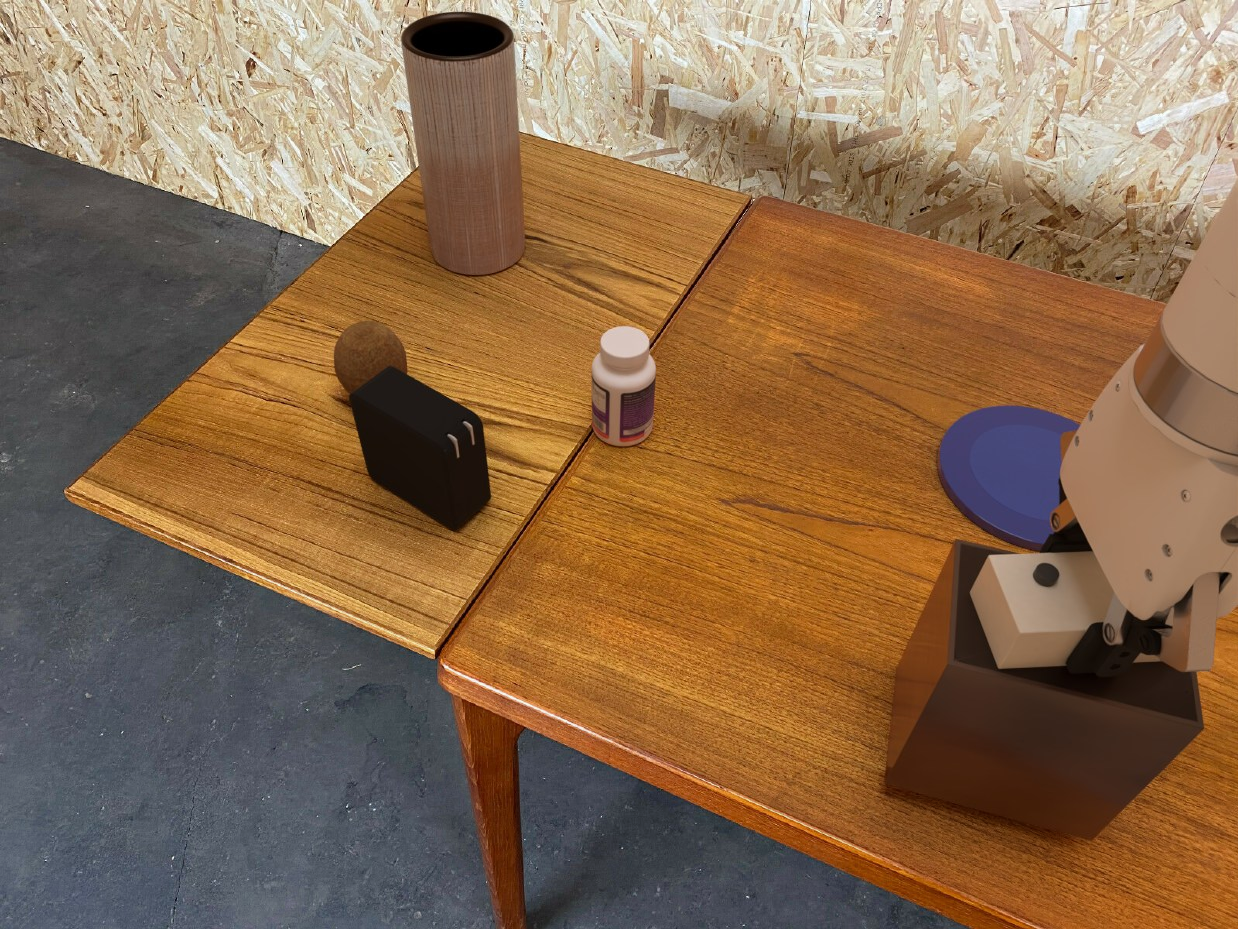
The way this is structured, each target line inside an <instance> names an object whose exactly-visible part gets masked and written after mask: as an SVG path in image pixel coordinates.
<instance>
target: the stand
mask: <svg viewBox="0 0 1238 929" xmlns="http://www.w3.org/2000/svg"><path fill="white" fill-rule="evenodd" d="M1004 554H1022V553H1020V552H1016V551H1011V550H1009V549H1008V550H1007V549H1004V548H1003V549H1002V548H998V547H994V546H991V545H985V544H981V543H976V542H972V541H968V540H963V539H959V538H955V539H954V542H953V544H952V546H951V547H950V550H949V552H948V554H947V557H946V558H945V561H944V563H943V566H942V568H941V569H940V572H939V575H938V576H937V578H936V581H935V582H934V585H933V587H932V590H931V592H930V593H929V596H928V598H927V601H926V602H925V605H924V607H923V609H922V612H921V614H920V615H919V618H918V620H917V622H916V624H915V627H914V629H913V631H912V633H911V635H910V638H909V640H908V642H907V644H906V646H905V648H904V651H903V654H902V655H901V658H900V659H899V662H898V664H897V666H896V669H895V677H894V679H895V680H894V687H893V696H892V707H891V715H890V726H889V733H888V734H889V735H888V744H887V752H886V753H887V754H886V763H885V772H884V781H883V783H884V785H888V786H892V787H894V788H899V789H903V790H906V791H909V792H912V793H918V794H921V795H924V796H928V797H931V798H935V799H938V800H942V801H945V802H949V803H953V804H956V805H960V806H964V807H967V808H971V809H975V810H978V811H981V812H985V813H988V814H993V815H995V816H1000V817H1004V818H1007V819H1010V820H1014V821H1018V822H1022V823H1025V824H1029V825H1032V826H1035V827H1039V828H1043V829H1047V830H1050V831H1054V832H1057V833H1061V834H1065V835H1068V836H1072V837H1076V838H1078V839H1082V840H1086V841H1091V842H1092V841H1094V840H1095V838H1097V837H1098V835H1100V834H1101V833H1102V831H1103V830H1104V829H1105V828H1106V827H1108V826H1109V824H1110V823H1111V822H1112V821H1114V820H1115V818H1117V817H1118V816H1119V815H1120V814H1121V813H1122V812H1123V811H1124V809H1126V808H1127V806H1129V804H1131V803H1132V802H1133V801H1134V799H1135V798H1137V797H1138V796H1139V795H1140V794H1141V792H1142V791H1144V790H1145V789H1146V788H1147V787H1148V786H1149V785H1150V784H1151V783H1152V782H1153V781H1154V780H1155V779H1156V778H1157V777H1158V776H1159V775H1160V774H1161V773H1162V772H1163V771H1164V770H1165V769H1166V768H1167V767H1168V766H1169V765H1170V764H1171V763H1172V762H1173V761H1174V760H1175V759H1176V758H1177V757H1178V756H1179V755H1180V754H1181V753H1182V752H1183V751H1184V750H1185V749H1186V748H1187V747H1189V745H1190V744H1191V743H1192V742H1193V741H1194V740H1195V739H1196V738H1197V737H1198V736H1199V735H1200V734H1201V733H1202V732H1203V731H1204V730H1205V723H1204V716H1203V710H1202V702H1201V694H1200V687H1199V678H1198V673H1197V672H1198V671H1195V672H1180V671H1178V670H1177V669H1175V668H1173V667H1171V666H1169V665H1168V664H1166V663H1164V662H1162V661H1156V662H1135V663H1132V664H1131V666H1130V667H1129V668H1128V669H1127V670H1126V671H1125V672H1124V673H1122V674H1120V675H1117V676H1112V677H1099V676H1097V675H1096V673H1082V674H1071V673H1069V671H1068V668H1067V666H1049V667H1028V668H1006V669H999V668H998V667H997V664H996V661H995V659H994V656H993V653H992V651H991V648H990V645H989V643H988V640H987V637H986V635H985V632H984V630H983V627H982V624H981V622H980V619H979V616H978V614H977V611H976V608H975V606H974V603H973V601H972V598H971V595H970V591H971V589H972V587H973V585H974V583H975V581H976V579H977V577H978V575H979V573H980V571H981V569H982V567H983V565H984V563H985V561H986V559H987V557H988V556H989V555H1004Z"/></svg>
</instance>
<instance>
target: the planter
mask: <svg viewBox="0 0 1238 929" xmlns="http://www.w3.org/2000/svg"><path fill="white" fill-rule="evenodd" d="M514 34H515V33H514V32H513V29H512V28H511V27H510V26H509V25H508V24H507V23H506V22H505V21H503V20H501V19H500V18H498V17H496V16H493V15H490V14H486V13H481V12H475V11H446V12H439V13H435V14H434V13H433V14H431V15H427V16H423V17H421V18H419V19H417V20H415V21H413V22H411V23H410V24H408V25H407V27H405V28H404V30H403V31H402V33H401V36H400V44H401V45H400V46H401V52H402V60H403V66H404V73H405V80H406V87H407V94H408V102H409V108H410V115H411V121H412V129H413V135H414V143H415V149H416V150H415V151H416V155H417V156H416V157H417V163H418V170H419V179H420V186H421V191H422V199H423V206H424V213H425V220H426V227H427V233H428V241H429V245H430V251H431V254H432V257H433V259H434V261H436V263H437V264H439V265H440V266H441V267H442V268H444V269H446V270H448V271H451V272H454V273H457V274H462V275H468V276H484V275H490V274H494V273H498V272H501V271H503V270H505V269H508V268H510V267H512V266H513V265H514V264H516V263H517V262H518V261H519V260H520V259H521V258H522V256H523V254H524V253H525V249H526V228H525V210H524V208H525V207H524V192H523V174H522V159H521V158H522V157H521V155H522V154H521V140H520V139H521V136H520V120H519V118H520V117H519V104H518V85H517V67H516V66H517V65H516V51H515V50H516V47H515V35H514Z"/></svg>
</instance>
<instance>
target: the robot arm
mask: <svg viewBox="0 0 1238 929" xmlns="http://www.w3.org/2000/svg"><path fill="white" fill-rule="evenodd" d="M1207 230H1208V231H1207V232H1206V234H1205V236H1204V237H1203V239H1202V241H1201V242H1200V245H1199V246H1198V248H1197V250H1196V252H1195V253H1194V255H1193V257H1192V259H1191V261H1190V262H1189V264H1188V266H1187V268H1186V270H1185V271H1184V273H1183V275H1182V277H1181V279H1180V280H1179V282H1178V284H1177V286H1176V288H1175V290H1173V293H1172V295H1171V296H1170V297H1169V298H1170V299H1169V300H1168V302H1167V304H1166V306H1165V307H1164V309H1163V310H1162V313H1161V314H1160V316H1159V317H1158V320H1157V321H1156V322H1155V325H1154V326H1153V328H1152V331H1151V332H1150V334H1149V336H1148V337H1147V339H1146V341H1145V343H1143V344H1141V345H1140V346H1139V347H1138V348H1136V350H1135V351H1134V352H1133V353H1132V354H1131V355H1130V356H1129V357H1128V358H1127V360H1125V362H1124V363H1123V364H1122V366H1121V367H1119V369H1117V371H1116V372H1115V374H1113V376H1112V378H1110V380H1109V382H1108V383H1107V384H1106V386H1105V387H1104V388H1103V389H1102V391H1101V392H1100V394H1099V395H1098V397H1097V398H1096V399H1095V401H1094V402H1093V404H1092V406H1091V407H1090V409H1088V410H1089V411H1088V412H1087V414H1086V415H1085V417H1084V418H1083V420H1082V422H1081V423H1080V427H1079V428H1078V430H1075V431H1069V432H1064V433H1063V434H1062V435H1061V439H1060V446H1061V461H1062V465H1061V468H1060V478H1059V480H1058V484H1059V506H1058V507H1057V508H1056V509H1054V510H1053V511H1052V513H1051V515H1050V526H1051V528H1052V530H1053V531H1054V533H1053V534H1049V536H1048V538H1047V540H1046V541H1045V543H1044V545H1043V547H1042V548H1041V550H1040V551H1038V553H1062V552H1088V551H1093V552H1094V554H1095V556H1096V558H1097V560H1098V562H1099V564H1100V566H1101V568H1102V570H1103V572H1104V573H1105V575H1106V577H1107V579H1108V581H1109V583H1110V585H1111V587H1112V589H1113V590H1114V595H1113V597H1112V600H1111V603H1110V606H1109V609H1108V612H1107V615H1106V618H1105V621H1104V622H1096V623H1093V624H1091V625H1090V626H1089V628H1088V629H1087V632H1086V633H1085V634H1084V636H1083V637H1082V639H1081V640H1080V642H1079V643H1078V644H1077V646H1076V647H1075V649H1074V650H1073V652H1072V653H1071V654H1070V656H1069V657H1068V659H1067V661H1066V663H1065V664H1066V666H1067V668H1068V671H1069V673H1071V674H1082V673H1096V675H1097V676H1099V677H1112V676H1117V675H1120V674H1122V673H1124V672H1125V671H1126V670H1127V669H1128V668H1129V667H1130V666H1131V664H1132V663H1133V662H1134V661H1135V659H1136V658H1137V657H1138V656H1139V654H1140V653H1142V654H1145V655H1155V656H1157V657H1158V658H1160V660H1161V661H1162V662H1164V663H1166V664H1168V665H1169V666H1171V667H1173V668H1175V669H1177V670H1178V671H1180V672H1195V671H1196V672H1209V671H1211V670H1212V669H1213V667H1214V661H1215V649H1216V648H1215V647H1216V635H1217V634H1216V633H1217V622H1218V621H1217V620H1218V618H1225V617H1227V616H1228V615H1230V614H1231V613H1232V612H1233V611H1234V610H1235V609H1236V608H1237V607H1238V177H1237V178H1236V180H1235V182H1234V183H1233V186H1232V187H1231V189H1230V191H1229V193H1228V194H1227V197H1226V198H1225V200H1224V201H1223V203H1222V205H1221V207H1220V209H1219V210H1218V212H1217V214H1216V216H1215V218H1214V220H1213V222H1212V223H1211V225H1210V227H1209V228H1208V229H1207ZM1134 616H1136V617H1134Z"/></svg>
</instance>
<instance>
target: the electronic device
mask: <svg viewBox="0 0 1238 929" xmlns="http://www.w3.org/2000/svg"><path fill="white" fill-rule="evenodd" d="M348 400H349V404H350V408H351V412H352V416H353V420H354V424H355V428H356V432H357V436H358V440H359V444H360V449H361V452H362V456H363V461H364V464H365V467H366V472H367V473H368V475H369V477H370V478H371V480H372V481H374V482H375V483H376V484H378V485H379V486H381V487H382V488H384V489H385V490H387V491H389V492H391V493H392V494H393V495H394V496H397V497H399V499H401V500H403V501H405V502H407V503H408V504H409V505H410V506H412V507H414V508H416V509H417V510H419V511H420V512H422V513H424V515H427V516H428V517H430V518H432V519H433V520H435V521H436V522H437V523H439V524H441V525H442V526H444V527H445V528H447V529H449V530H451V531H453V532H456V531H458V530H459V529H460V528H461V527H462V526H464V525H465V524H466V523H467V522H468V521H469V520H470V519H471V518H472V517H473V516H474V515H475V514H477V513H478V512H480V510H481V509H482V508H483V507H484V506H485V505H486V504H488V503H489V502H490V501H491V500H492V499H491V498H492V491H491V483H490V482H491V481H490V474H489V466H488V456H487V449H486V438H485V430H484V424H483V421H482V419H481V418H480V416H479V414H477V413H476V412H474V411H473V410H472V409H470V408H468V407H467V406H464V405H463V404H461V403H460V402H457V401H456V400H453V399H452V398H450V397H448V396H446V395H445V394H443V393H442V392H439V391H438V390H436V389H435V388H432V387H431V386H429V385H427V384H425V383H423V382H422V381H420V380H418V379H416V378H415V377H413V376H411V375H409V374H408V373H407V374H406V373H404V372H402V371H400V370H398V369H397V368H395V367H393V366H388V367H386V368H385V369H384V370H382V371H381V372H380V373H378V374H377V375H375V376H374V377H373V378H371V379H370V380H369V381H367V382H366V383H365V384H363V385H362V386H360V387H359V388H358V389H356V390H355V391H354V392H352V393H351V394H349V395H348Z"/></svg>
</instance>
